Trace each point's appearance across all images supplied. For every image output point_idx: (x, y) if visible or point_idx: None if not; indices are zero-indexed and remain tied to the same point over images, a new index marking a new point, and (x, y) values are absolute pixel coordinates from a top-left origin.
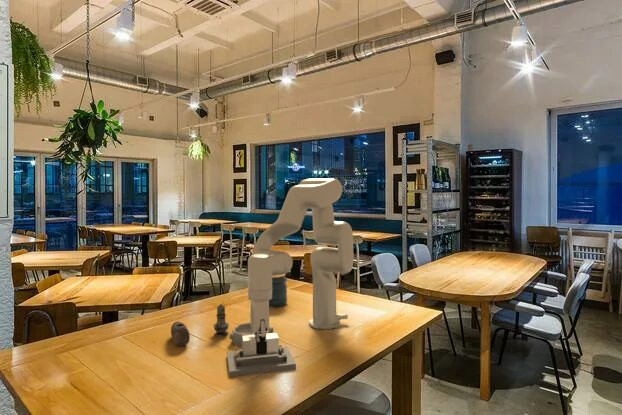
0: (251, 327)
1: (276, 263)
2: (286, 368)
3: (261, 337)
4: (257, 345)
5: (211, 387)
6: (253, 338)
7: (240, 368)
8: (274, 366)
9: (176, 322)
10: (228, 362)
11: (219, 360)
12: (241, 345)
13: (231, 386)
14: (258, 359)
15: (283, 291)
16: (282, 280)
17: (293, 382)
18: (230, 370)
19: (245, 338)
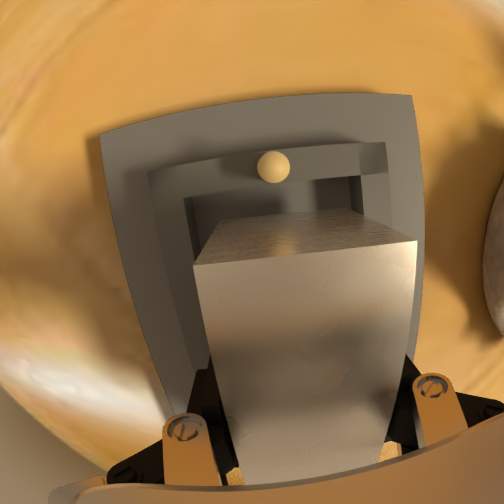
0: (340, 494)
1: None
2: None
3: (68, 485)
4: (207, 387)
5: (36, 79)
6: (278, 390)
7: (133, 199)
8: (165, 389)
9: None
10: (239, 102)
11: (351, 54)
12: (498, 198)
13: (30, 169)
14: (182, 332)
15: None
16: None
17: (88, 412)
18: (113, 136)
19: (300, 294)
